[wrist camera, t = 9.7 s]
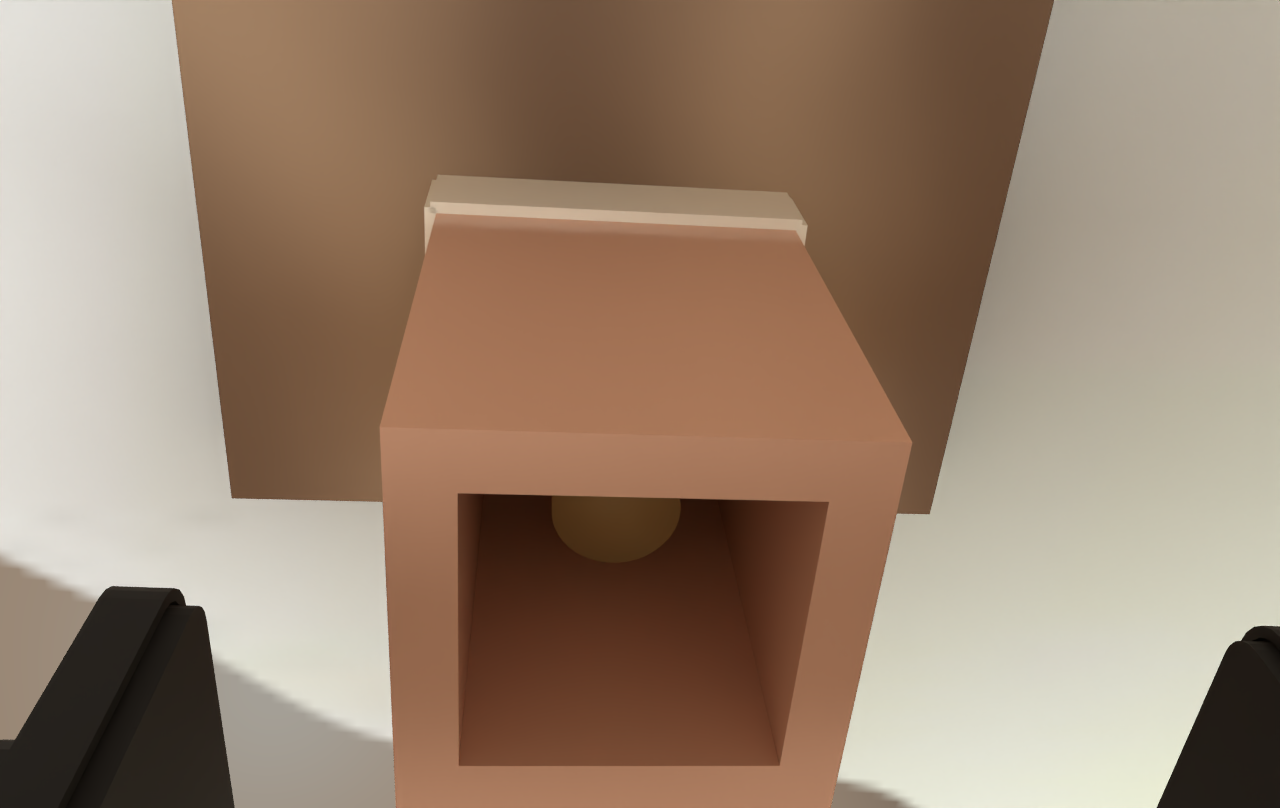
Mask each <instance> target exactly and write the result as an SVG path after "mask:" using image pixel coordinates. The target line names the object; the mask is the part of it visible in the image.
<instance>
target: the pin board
mask: <svg viewBox="0 0 1280 808" xmlns="http://www.w3.org/2000/svg"><path fill="white" fill-rule="evenodd" d="M1053 2H1054V0H172V5H173V14H174V22H175V30H176V39H177V47H178V55H179V63H180V72H181V80H182V88H183V97H184V105H185V113H186V122H187V130H188V138H189V146H190V155H191V163H192V171H193V180H194V188H195V196H196V205H197V213H198V221H199V229H200V238H201V246H202V254H203V263H204V271H205V279H206V288H207V296H208V304H209V312H210V321H211V329H212V337H213V346H214V354H215V362H216V371H217V379H218V387H219V395H220V404H221V412H222V420H223V429H224V437H225V445H226V453H227V462H228V470H229V478H230V487H231V495H232V498H246V499H289V500H333V501H377V502H383V495H382V472H381V449H380V424H381V420H382V416H383V412H384V408H385V405H386V401H387V397H388V393H389V390H390V386H391V382H392V378H393V374H394V371H395V367H396V363H397V359H398V356H399V352H400V348H401V344H402V340H403V337H404V333H405V329H406V325H407V322H408V318H409V314H410V310H411V306H412V303H413V299H414V295H415V291H416V288H417V284H418V280H419V276H420V272H421V269H422V265H423V261H424V257H425V224H424V206H425V203H426V199H427V196H428V192H429V189H430V186H431V182H432V180H436V179H437V176H438V175H455V176H474V177H494V178H514V179H533V180H553V181H572V182H592V183H612V184H631V185H651V186H671V187H690V188H710V189H729V190H749V191H769V192H787V193H788V195H789V197H790V198H792V199H793V201H794V203H795V205H796V206H797V208H798V210H799V211H800V213H801V215H802V217H803V218H804V220H805V222H806V223H807V225H808V227H807V233H806V240H805V248H806V250H807V252H808V254H809V255H810V257H811V259H812V261H813V263H814V265H815V266H816V268H817V270H818V272H819V274H820V275H821V277H822V279H823V281H824V283H825V284H826V286H827V288H828V290H829V292H830V294H831V295H832V297H833V299H834V301H835V303H836V304H837V306H838V308H839V310H840V312H841V314H842V315H843V317H844V319H845V321H846V323H847V324H848V326H849V328H850V330H851V332H852V334H853V335H854V337H855V339H856V341H857V343H858V344H859V346H860V348H861V350H862V352H863V354H864V355H865V357H866V359H867V361H868V363H869V364H870V366H871V368H872V370H873V372H874V374H875V375H876V377H877V379H878V381H879V383H880V384H881V386H882V388H883V390H884V392H885V394H886V395H887V397H888V399H889V401H890V403H891V404H892V406H893V408H894V410H895V412H896V413H897V415H898V417H899V419H900V421H901V423H902V424H903V426H904V428H905V430H906V432H907V433H908V435H909V437H910V439H911V441H912V447H911V452H910V456H909V460H908V465H907V469H906V474H905V478H904V483H903V487H902V492H901V496H900V501H899V505H898V509H897V513H901V514H930V510H931V506H932V502H933V498H934V494H935V490H936V485H937V481H938V477H939V473H940V469H941V465H942V461H943V457H944V452H945V448H946V444H947V440H948V436H949V432H950V428H951V424H952V419H953V415H954V411H955V407H956V403H957V399H958V395H959V390H960V386H961V382H962V378H963V374H964V370H965V366H966V362H967V357H968V353H969V349H970V345H971V341H972V337H973V333H974V329H975V324H976V320H977V316H978V312H979V308H980V304H981V300H982V296H983V291H984V287H985V283H986V279H987V275H988V271H989V267H990V263H991V258H992V254H993V250H994V246H995V242H996V238H997V234H998V229H999V225H1000V221H1001V217H1002V213H1003V209H1004V205H1005V201H1006V196H1007V192H1008V188H1009V184H1010V180H1011V176H1012V172H1013V168H1014V163H1015V159H1016V155H1017V151H1018V147H1019V143H1020V139H1021V135H1022V130H1023V126H1024V122H1025V118H1026V114H1027V110H1028V106H1029V102H1030V97H1031V93H1032V89H1033V85H1034V81H1035V77H1036V73H1037V68H1038V64H1039V60H1040V56H1041V52H1042V48H1043V44H1044V40H1045V35H1046V31H1047V27H1048V23H1049V19H1050V15H1051V11H1052V7H1053ZM680 511H681V504H680V498H642V497H599V496H557V495H552V519H553V524H554V527H555V529H556V531H557V533H558V535H559V537H560V538H561V539H562V541H563V542H564V543H565V544H566V545H567V546H568V547H569V548H571V549H572V550H573V551H575V552H576V553H578V554H580V555H582V556H584V557H586V558H589V559H592V560H595V561H600V562H608V563H621V562H628V561H632V560H636V559H639V558H642V557H644V556H646V555H648V554H650V553H652V552H654V551H655V550H657V549H658V548H659V547H661V546H662V545H663V544H664V543H665V542H666V541H667V540H668V539H669V538H670V536H671V535H672V534H673V532H674V530H675V528H676V526H677V524H678V521H679V517H680Z"/></svg>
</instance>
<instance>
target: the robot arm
mask: <svg viewBox="0 0 1280 808" xmlns="http://www.w3.org/2000/svg"><path fill="white" fill-rule="evenodd" d="M0 808H234V801H233V795H232V787H231V781H230V774H229V767H228V761H227V754H226V747H225V741H224V734H223V727H222V721H221V714H220V707H219V700H218V694H217V687H216V681H215V674H214V667H213V660H212V653H211V647H210V640H209V633H208V627H207V620H206V615H205V611H204V610H203V608H202V607H200V606H186V603H185V600H184V596H183V594H182V593H181V591H180V590H178V589H175V588H148V587H118V586H111V587H110V588H108V589H106V590H105V591H104V592H103V593H102V595H101V596H100V597H99V599H98V601H97V602H96V604H95V606H94V607H93V609H92V611H91V613H90V614H89V616H88V618H87V619H86V621H85V623H84V624H83V626H82V628H81V629H80V631H79V633H78V634H77V636H76V638H75V640H74V641H73V643H72V645H71V646H70V648H69V650H68V651H67V653H66V655H65V656H64V658H63V660H62V662H61V663H60V665H59V667H58V668H57V670H56V672H55V673H54V675H53V677H52V678H51V680H50V682H49V683H48V685H47V687H46V689H45V690H44V692H43V694H42V695H41V697H40V699H39V700H38V702H37V704H36V705H35V707H34V709H33V711H32V712H31V714H30V716H29V717H28V719H27V721H26V723H25V724H24V726H23V727H22V729H21V731H20V733H19V734H18V736H17V738H16V739H15V740H0ZM1157 808H1280V626H1258V627H1253V628H1252V629H1251V630H1249V631H1248V632H1246V634H1245V636H1244V637H1243V639H1242V640H1241V641H1235V642H1234V643H1233V644H1231V645H1230V646H1229V647H1228V649H1227V651H1226V652H1225V654H1224V657H1223V659H1222V661H1221V664H1220V666H1219V668H1218V670H1217V673H1216V675H1215V677H1214V679H1213V682H1212V684H1211V686H1210V688H1209V691H1208V693H1207V695H1206V697H1205V700H1204V702H1203V704H1202V707H1201V709H1200V711H1199V713H1198V716H1197V718H1196V720H1195V722H1194V725H1193V727H1192V729H1191V731H1190V734H1189V736H1188V738H1187V740H1186V743H1185V745H1184V747H1183V750H1182V752H1181V754H1180V756H1179V759H1178V761H1177V763H1176V765H1175V768H1174V770H1173V772H1172V774H1171V777H1170V779H1169V781H1168V783H1167V786H1166V788H1165V790H1164V793H1163V795H1162V797H1161V799H1160V802H1159V804H1158V806H1157Z"/></svg>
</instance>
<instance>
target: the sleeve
mask: <svg viewBox="0 0 1280 808" xmlns="http://www.w3.org/2000/svg"><path fill="white" fill-rule="evenodd" d="M424 224H425V257H424V261H423V265H422V269H421V272H420V276H419V280H418V284H417V288H416V291H415V295H414V299H413V303H412V306H411V310H410V314H409V318H408V322H407V325H406V329H405V333H404V337H403V340H402V344H401V348H400V352H399V356H398V359H397V363H396V367H395V371H394V374H393V378H392V382H391V386H390V390H389V393H388V397H387V401H386V405H385V408H384V412H383V416H382V420H381V424H380V449H381V472H382V495H383V519H384V542H385V565H386V588H387V611H388V635H389V658H390V681H391V704H392V727H393V750H394V773H395V795H396V796H395V797H396V808H831V804H832V799H833V795H834V790H835V786H836V781H837V777H838V772H839V768H840V763H841V759H842V755H843V750H844V746H845V741H846V737H847V732H848V728H849V723H850V719H851V714H852V710H853V706H854V701H855V697H856V692H857V688H858V683H859V679H860V674H861V670H862V665H863V661H864V656H865V652H866V648H867V643H868V639H869V634H870V630H871V625H872V621H873V616H874V612H875V607H876V603H877V599H878V594H879V590H880V585H881V581H882V576H883V572H884V567H885V563H886V558H887V554H888V550H889V545H890V541H891V536H892V532H893V527H894V523H895V518H896V514H897V509H898V505H899V501H900V496H901V492H902V487H903V483H904V478H905V474H906V469H907V465H908V460H909V456H910V452H911V447H912V441H911V439H910V437H909V435H908V433H907V432H906V430H905V428H904V426H903V424H902V423H901V421H900V419H899V417H898V415H897V413H896V412H895V410H894V408H893V406H892V404H891V403H890V401H889V399H888V397H887V395H886V394H885V392H884V390H883V388H882V386H881V384H880V383H879V381H878V379H877V377H876V375H875V374H874V372H873V370H872V368H871V366H870V364H869V363H868V361H867V359H866V357H865V355H864V354H863V352H862V350H861V348H860V346H859V344H858V343H857V341H856V339H855V337H854V335H853V334H852V332H851V330H850V328H849V326H848V324H847V323H846V321H845V319H844V317H843V315H842V314H841V312H840V310H839V308H838V306H837V304H836V303H835V301H834V299H833V297H832V295H831V294H830V292H829V290H828V288H827V286H826V284H825V283H824V281H823V279H822V277H821V275H820V274H819V272H818V270H817V268H816V266H815V265H814V263H813V261H812V259H811V257H810V255H809V254H808V252H807V250H806V248H805V240H806V233H807V227H808V225H807V223H806V222H805V220H804V218H803V217H802V215H801V213H800V211H799V210H798V208H797V206H796V205H795V203H794V201H793V199H792V198H790V197H789V195H788V193H787V192H769V191H749V190H729V189H710V188H690V187H671V186H651V185H631V184H612V183H592V182H572V181H553V180H533V179H514V178H494V177H474V176H455V175H438V176H437V179H436V180H432V182H431V186H430V189H429V192H428V196H427V199H426V203H425V206H424ZM552 495H557V496H599V497H642V498H680V504H681V511H680V517H679V521H678V524H677V526H676V528H675V530H674V532H673V534H672V535H671V536H670V538H669V539H668V540H667V541H666V542H665V543H664V544H663V545H662V546H661V547H659V548H658V549H657V550H655V551H654V552H652V553H650V554H648V555H646V556H644V557H642V558H639V559H636V560H632V561H628V562H621V563H608V562H600V561H595V560H592V559H589V558H586V557H584V556H582V555H580V554H578V553H576V552H575V551H573V550H572V549H571V548H569V547H568V546H567V545H566V544H565V543H564V542H563V541H562V539H561V538H560V537H559V535H558V533H557V531H556V529H555V527H554V524H553V519H552Z"/></svg>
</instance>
